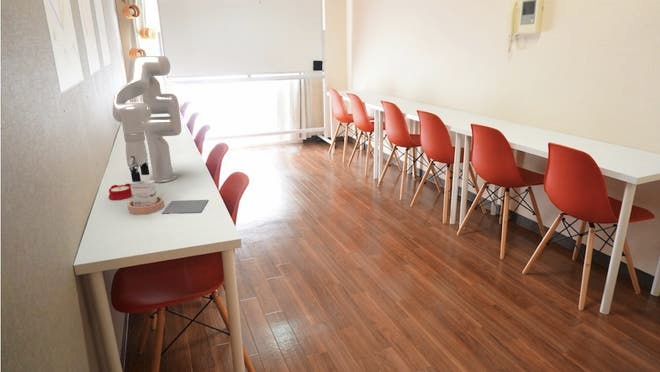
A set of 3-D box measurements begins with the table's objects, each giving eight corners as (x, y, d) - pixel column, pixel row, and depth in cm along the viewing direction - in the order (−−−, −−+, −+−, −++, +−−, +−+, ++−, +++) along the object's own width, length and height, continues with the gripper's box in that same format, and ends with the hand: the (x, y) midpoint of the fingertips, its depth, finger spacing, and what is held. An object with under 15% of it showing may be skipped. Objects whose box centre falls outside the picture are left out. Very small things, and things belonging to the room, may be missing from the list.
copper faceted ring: (136, 202, 191) (135, 196, 190) (167, 201, 192) (166, 195, 191) (123, 215, 179) (122, 208, 178) (157, 213, 179) (156, 207, 178)
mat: (171, 201, 192) (171, 200, 192) (208, 200, 193) (208, 199, 193) (161, 214, 179) (161, 213, 179) (201, 212, 179) (200, 211, 179)
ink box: (158, 205, 188) (154, 179, 184) (154, 210, 183) (150, 183, 179) (138, 206, 188) (133, 180, 184) (133, 210, 183) (129, 183, 179)
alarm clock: (105, 195, 192) (108, 178, 204) (108, 206, 195) (110, 189, 207) (131, 191, 195) (132, 175, 207) (133, 203, 198) (134, 186, 210)
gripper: (133, 133, 183) (139, 172, 188) (115, 142, 167) (123, 184, 172) (151, 132, 183) (157, 172, 189) (135, 141, 167) (142, 184, 172)
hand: (141, 178), depth 180 cm, fingers open, 9 cm apart
